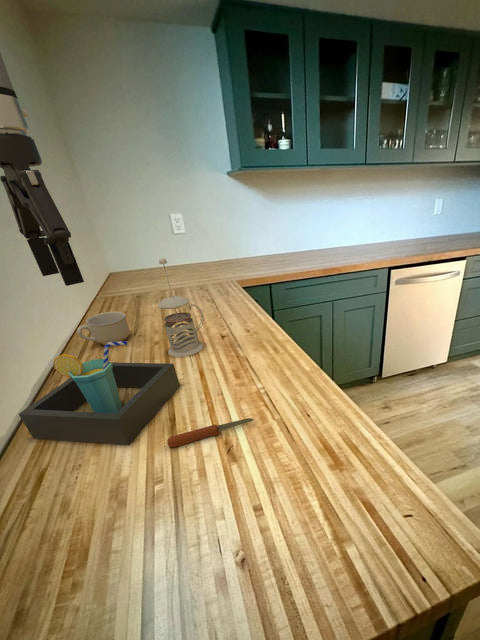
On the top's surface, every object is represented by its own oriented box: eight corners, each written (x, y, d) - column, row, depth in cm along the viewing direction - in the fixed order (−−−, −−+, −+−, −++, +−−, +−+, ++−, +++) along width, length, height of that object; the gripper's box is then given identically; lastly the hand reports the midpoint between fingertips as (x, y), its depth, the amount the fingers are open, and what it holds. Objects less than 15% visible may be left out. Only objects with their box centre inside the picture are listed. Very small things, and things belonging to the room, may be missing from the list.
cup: (148, 392, 77) (126, 331, 69) (148, 410, 70) (125, 345, 63) (79, 409, 73) (49, 346, 65) (74, 430, 66) (39, 363, 59)
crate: (33, 438, 65) (18, 413, 62) (102, 383, 82) (93, 361, 79) (129, 445, 61) (117, 419, 58) (180, 386, 78) (173, 363, 75)
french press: (165, 347, 98) (139, 258, 86) (204, 337, 102) (185, 252, 90) (170, 360, 90) (143, 265, 78) (213, 349, 95) (193, 257, 82)
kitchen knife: (169, 450, 59) (166, 441, 58) (168, 445, 61) (166, 436, 60) (255, 425, 64) (254, 417, 63) (253, 421, 65) (252, 413, 64)
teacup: (127, 331, 111) (119, 308, 107) (137, 340, 104) (129, 316, 100) (81, 345, 104) (70, 320, 100) (88, 356, 96) (76, 330, 92)
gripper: (55, 123, 45) (111, 282, 55) (13, 145, 60) (63, 267, 70) (-15, 120, 40) (60, 294, 51) (-42, 145, 55) (21, 275, 66)
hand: (62, 279), depth 61 cm, fingers open, 13 cm apart
